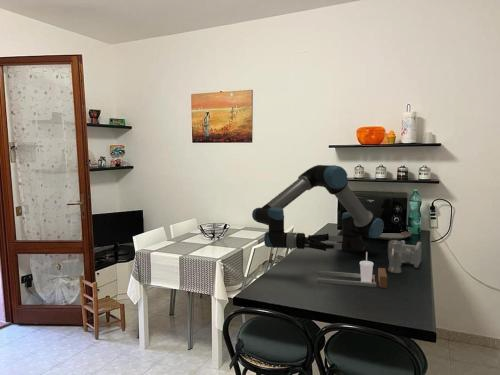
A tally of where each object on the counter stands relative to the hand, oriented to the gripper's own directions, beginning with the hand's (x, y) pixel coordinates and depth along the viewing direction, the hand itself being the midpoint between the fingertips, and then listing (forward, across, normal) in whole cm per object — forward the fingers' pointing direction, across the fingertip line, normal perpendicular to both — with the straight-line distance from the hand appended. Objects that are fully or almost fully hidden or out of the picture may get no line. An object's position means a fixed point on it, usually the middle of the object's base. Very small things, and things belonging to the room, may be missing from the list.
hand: (342, 242), depth 169 cm
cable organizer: (+33, -31, -19) cm, 49 cm away
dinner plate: (+28, -92, -20) cm, 98 cm away
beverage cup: (+11, 0, -18) cm, 21 cm away
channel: (+4, 0, -18) cm, 18 cm away
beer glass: (+25, -18, -19) cm, 36 cm away
